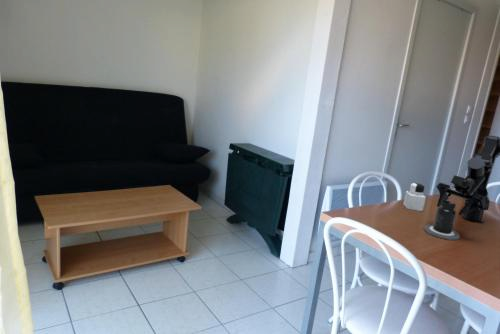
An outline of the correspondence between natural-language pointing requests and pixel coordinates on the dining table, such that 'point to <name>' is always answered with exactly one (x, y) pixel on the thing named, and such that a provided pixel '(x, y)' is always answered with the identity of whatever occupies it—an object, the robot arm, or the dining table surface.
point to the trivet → (431, 231)
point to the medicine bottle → (415, 197)
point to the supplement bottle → (445, 217)
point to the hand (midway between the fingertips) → (448, 210)
